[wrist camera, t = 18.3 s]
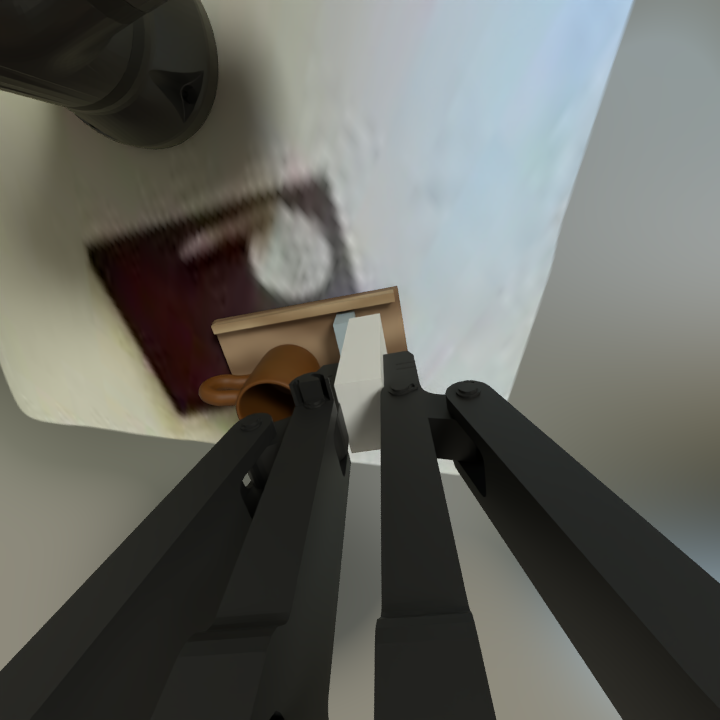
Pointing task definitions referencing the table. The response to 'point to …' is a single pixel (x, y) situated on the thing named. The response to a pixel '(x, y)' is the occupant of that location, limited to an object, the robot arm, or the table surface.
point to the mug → (262, 384)
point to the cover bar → (342, 326)
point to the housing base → (306, 328)
